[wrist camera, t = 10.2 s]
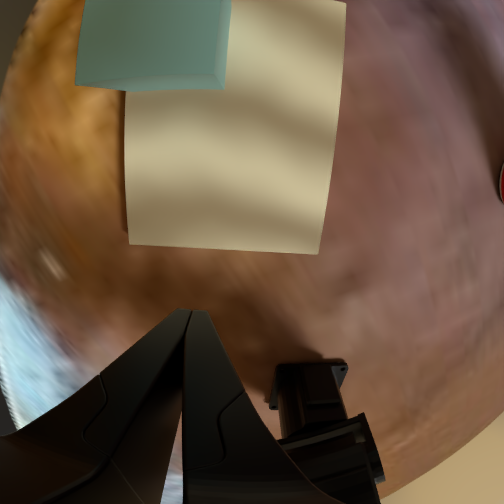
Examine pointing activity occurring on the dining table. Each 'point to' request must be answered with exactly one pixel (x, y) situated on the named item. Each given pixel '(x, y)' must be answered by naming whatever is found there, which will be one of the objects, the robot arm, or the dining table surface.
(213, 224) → the board
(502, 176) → the beverage can
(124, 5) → the teal rectangular block
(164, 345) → the robot arm
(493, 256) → the dining table surface
